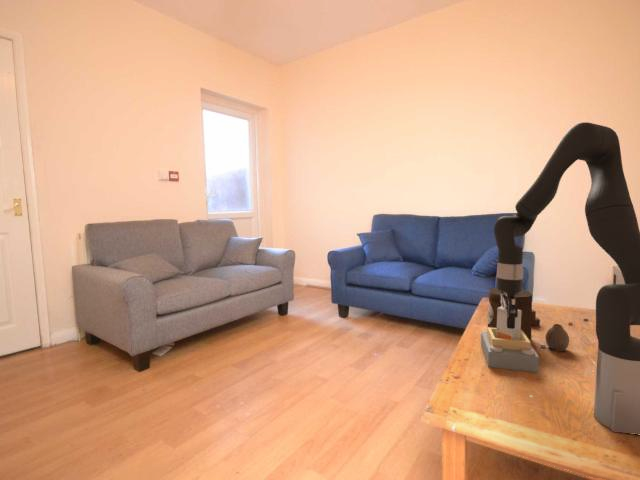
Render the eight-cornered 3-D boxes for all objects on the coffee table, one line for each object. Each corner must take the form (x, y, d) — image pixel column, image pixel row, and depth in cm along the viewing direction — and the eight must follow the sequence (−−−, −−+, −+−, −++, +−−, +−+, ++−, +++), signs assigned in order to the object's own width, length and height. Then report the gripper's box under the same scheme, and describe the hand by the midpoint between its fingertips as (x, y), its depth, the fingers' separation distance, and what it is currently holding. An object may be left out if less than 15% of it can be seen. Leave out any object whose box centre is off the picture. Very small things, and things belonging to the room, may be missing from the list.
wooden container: (495, 327, 143) (497, 276, 141) (536, 337, 133) (538, 281, 130) (481, 337, 133) (482, 282, 131) (523, 348, 123) (526, 288, 120)
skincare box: (495, 341, 117) (496, 307, 116) (503, 339, 119) (505, 305, 118) (512, 348, 112) (513, 312, 110) (520, 345, 113) (522, 310, 112)
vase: (572, 353, 118) (574, 329, 117) (550, 352, 119) (551, 328, 118) (562, 345, 125) (564, 322, 124) (541, 344, 126) (542, 321, 125)
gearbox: (538, 372, 106) (539, 347, 105) (488, 366, 110) (488, 342, 109) (523, 348, 123) (524, 327, 122) (480, 344, 127) (481, 323, 126)
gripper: (528, 281, 105) (526, 332, 107) (517, 272, 119) (515, 318, 120) (501, 280, 108) (499, 330, 109) (493, 271, 121) (491, 316, 123)
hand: (507, 324), depth 115 cm, fingers open, 8 cm apart
